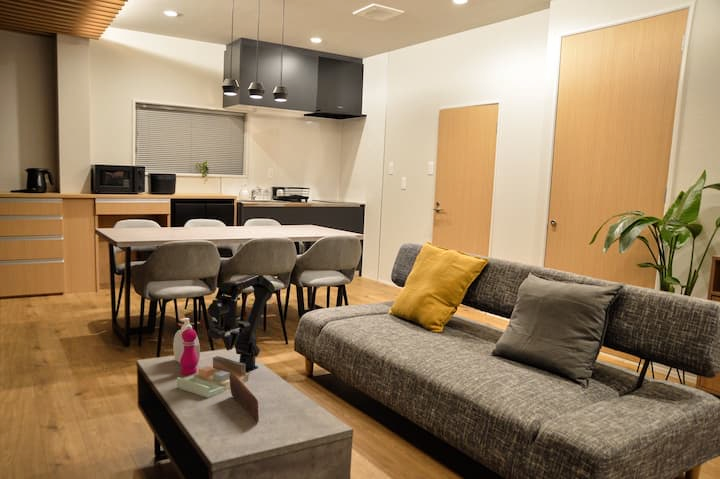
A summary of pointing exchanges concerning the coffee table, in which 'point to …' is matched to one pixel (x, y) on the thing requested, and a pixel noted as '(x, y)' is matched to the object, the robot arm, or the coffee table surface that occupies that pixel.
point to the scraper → (229, 366)
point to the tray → (199, 387)
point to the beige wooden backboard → (225, 383)
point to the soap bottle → (178, 342)
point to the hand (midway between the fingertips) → (229, 350)
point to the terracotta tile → (206, 371)
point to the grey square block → (221, 376)
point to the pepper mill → (189, 352)
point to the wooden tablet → (244, 396)
